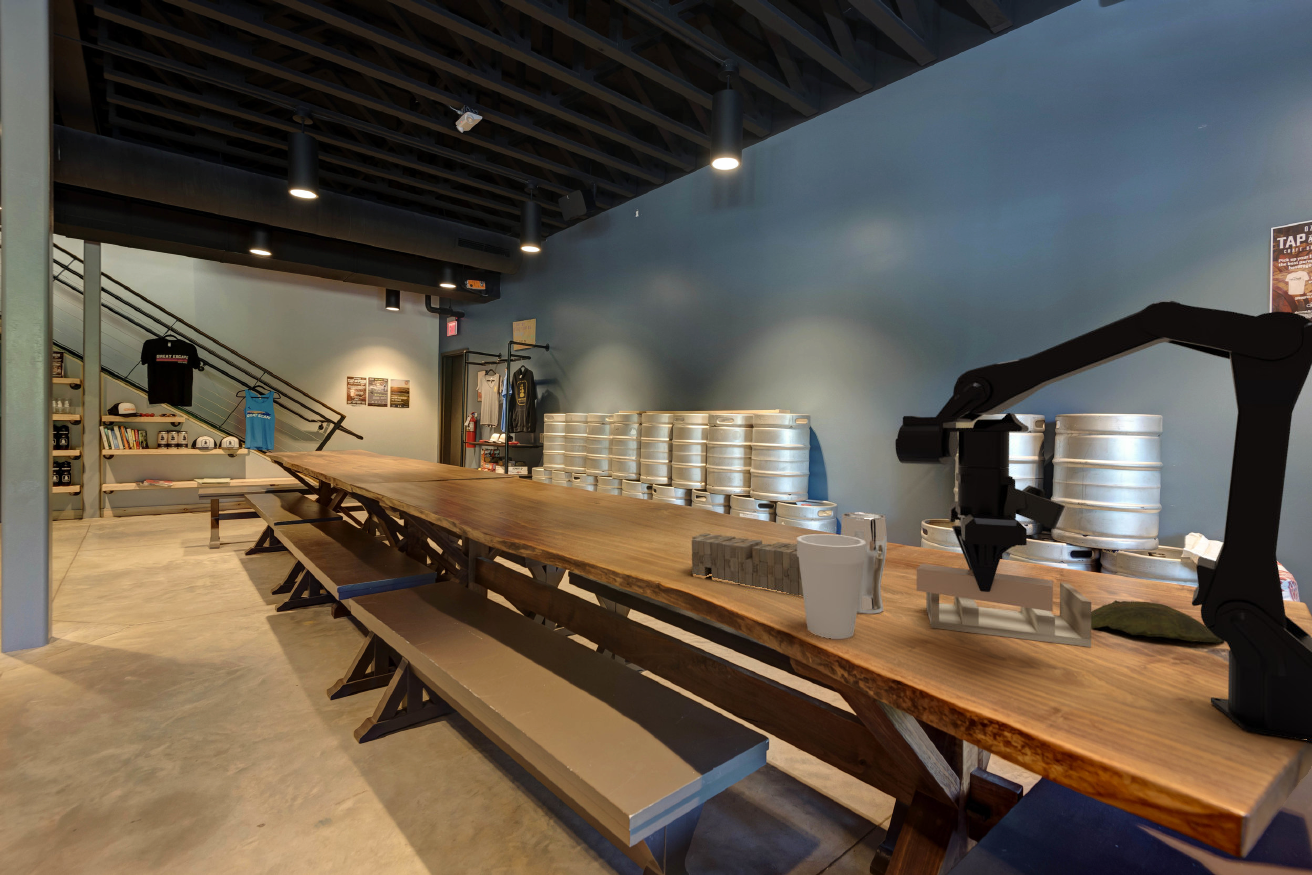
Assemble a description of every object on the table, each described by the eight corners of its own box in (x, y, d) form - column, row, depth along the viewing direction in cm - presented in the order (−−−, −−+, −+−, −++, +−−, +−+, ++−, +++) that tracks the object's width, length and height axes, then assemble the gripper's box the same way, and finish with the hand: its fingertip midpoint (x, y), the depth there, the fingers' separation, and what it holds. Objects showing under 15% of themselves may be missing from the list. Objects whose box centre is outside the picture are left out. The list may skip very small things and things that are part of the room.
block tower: (685, 581, 110) (832, 603, 93) (684, 538, 110) (830, 553, 93) (706, 573, 117) (847, 592, 99) (705, 532, 117) (845, 545, 99)
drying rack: (1090, 646, 74) (1091, 601, 74) (931, 627, 81) (931, 586, 81) (1067, 623, 83) (1068, 582, 83) (926, 607, 90) (926, 570, 90)
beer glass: (836, 610, 89) (837, 516, 88) (844, 599, 95) (844, 511, 95) (883, 617, 85) (884, 519, 85) (888, 605, 92) (888, 514, 91)
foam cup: (813, 615, 86) (813, 531, 86) (874, 629, 80) (874, 539, 80) (785, 632, 79) (785, 540, 79) (850, 648, 73) (850, 549, 73)
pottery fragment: (1190, 660, 71) (1190, 627, 71) (1067, 625, 83) (1067, 597, 83) (1235, 642, 77) (1235, 612, 77) (1114, 612, 89) (1114, 586, 89)
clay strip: (1052, 604, 69) (1052, 580, 69) (1052, 611, 67) (1052, 586, 67) (921, 584, 78) (921, 563, 78) (916, 590, 75) (916, 568, 75)
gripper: (1082, 473, 61) (1080, 616, 61) (1038, 464, 78) (1037, 576, 78) (966, 470, 65) (964, 604, 65) (948, 462, 82) (947, 568, 82)
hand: (982, 586), depth 72 cm, fingers closed on clay strip, 4 cm apart
